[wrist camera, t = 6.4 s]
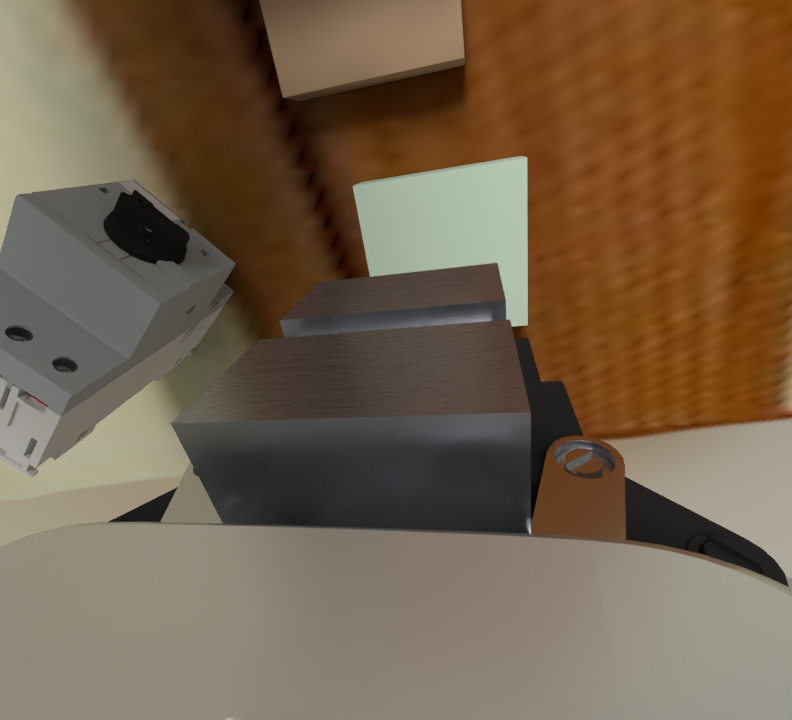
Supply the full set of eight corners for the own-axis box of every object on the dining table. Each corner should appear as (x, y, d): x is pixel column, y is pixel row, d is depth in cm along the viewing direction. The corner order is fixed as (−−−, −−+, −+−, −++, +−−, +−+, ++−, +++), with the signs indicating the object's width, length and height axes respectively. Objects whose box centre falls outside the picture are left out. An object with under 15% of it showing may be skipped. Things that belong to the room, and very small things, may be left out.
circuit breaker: (273, 232, 29) (112, 309, 16) (191, 354, 35) (30, 479, 22) (184, 154, 27) (-78, 169, 14) (115, 297, 34) (-107, 397, 21)
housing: (319, 282, 11) (171, 423, 6) (497, 262, 10) (530, 412, 5) (365, 465, 15) (299, 671, 9) (505, 464, 14) (531, 699, 8)
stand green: (362, 181, 26) (352, 186, 24) (521, 155, 24) (527, 157, 22) (387, 322, 31) (381, 336, 28) (523, 311, 28) (527, 325, 26)
